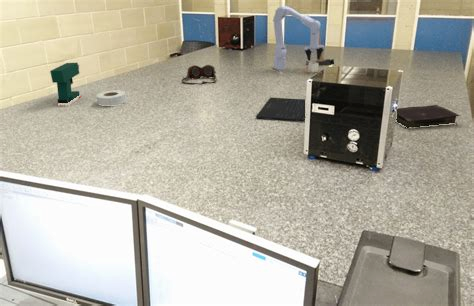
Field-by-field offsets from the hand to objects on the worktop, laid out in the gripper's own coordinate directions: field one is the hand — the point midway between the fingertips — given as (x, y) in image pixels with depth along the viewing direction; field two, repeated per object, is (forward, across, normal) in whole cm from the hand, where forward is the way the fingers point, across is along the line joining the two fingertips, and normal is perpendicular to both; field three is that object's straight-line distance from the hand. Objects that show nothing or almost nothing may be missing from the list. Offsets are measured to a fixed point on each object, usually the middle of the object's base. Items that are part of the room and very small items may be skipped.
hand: (313, 59), depth 277 cm
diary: (+10, -10, -107) cm, 108 cm away
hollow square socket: (+8, 0, 0) cm, 8 cm away
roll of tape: (+10, -138, -4) cm, 138 cm away
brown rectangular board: (+9, 0, +5) cm, 11 cm away
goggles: (+10, -77, +20) cm, 80 cm away
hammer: (+10, +17, +17) cm, 26 cm away
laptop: (+10, -53, -67) cm, 86 cm away
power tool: (+10, -158, +17) cm, 159 cm away
